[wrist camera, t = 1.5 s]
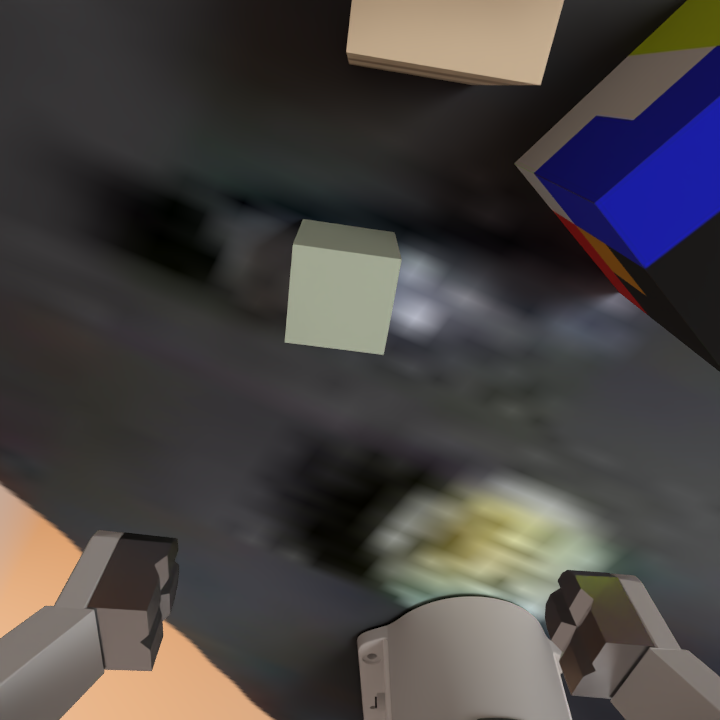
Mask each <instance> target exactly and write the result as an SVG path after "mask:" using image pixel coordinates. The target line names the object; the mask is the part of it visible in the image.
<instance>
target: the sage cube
mask: <svg viewBox="0 0 720 720" xmlns="http://www.w3.org/2000/svg"><path fill="white" fill-rule="evenodd" d="M401 260H402V259H401V255H400V251H399V248H398V244H397V240H396V236H395V232H388V231H382V230H375V229H368V228H361V227H354V226H347V225H340V224H333V223H326V222H319V221H312V220H305V219H303V220H302V223H301V225H300V228H299V230H298V233H297V235H296V238H295V240H294V243H293V249H292V261H291V273H290V285H289V297H288V309H287V321H286V333H285V342H286V343H294V344H302V345H310V346H318V347H326V348H334V349H342V350H350V351H358V352H366V353H374V354H381V355H384V350H385V345H386V339H387V334H388V329H389V324H390V318H391V313H392V308H393V302H394V297H395V292H396V287H397V281H398V276H399V271H400V265H401Z"/></svg>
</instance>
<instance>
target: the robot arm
mask: <svg viewBox="0 0 720 720" xmlns="http://www.w3.org/2000/svg"><path fill="white" fill-rule="evenodd" d="M177 552H178V539H176V538H169V537H160V536H151V535H142V534H132V533H123V532H112V531H101V530H98V531H97V532H96V533H95V534H94V535H93V536H92V537H91V539H90V541H89V542H88V544H87V546H86V548H85V550H84V552H83V553H82V555H81V557H80V559H79V561H78V563H77V564H76V566H75V568H74V570H73V572H72V574H71V575H70V577H69V579H68V581H67V583H66V585H65V586H64V588H63V590H62V592H61V594H60V596H59V597H58V599H57V601H56V603H55V605H54V606H44V607H43V608H42V609H40V610H39V611H38V612H36V613H35V614H33V615H32V616H31V617H29V618H28V619H27V620H25V621H24V622H22V623H21V624H20V625H18V626H17V627H16V628H14V629H13V630H11V631H10V632H9V633H7V634H6V635H4V636H3V637H2V638H0V720H59V719H60V718H61V717H62V716H63V715H64V714H65V713H66V712H67V711H68V710H69V709H70V708H71V707H72V706H73V705H74V704H75V702H77V701H78V700H79V699H80V697H81V696H82V695H83V694H84V693H85V692H86V691H87V690H88V689H89V688H90V687H91V686H92V685H93V684H94V683H95V682H96V681H97V680H98V679H99V678H100V677H101V676H102V675H103V674H104V669H106V670H137V671H152V669H153V665H154V662H155V659H156V656H157V653H158V650H159V647H160V644H161V641H162V638H163V624H162V621H163V620H164V619H165V618H166V617H167V616H169V615H170V613H171V610H172V606H173V603H174V600H175V595H176V590H177V586H178V577H179V565H178V564H177V563H176V562H175V558H176V555H177ZM558 583H559V585H560V589H558V590H557V591H555V592H553V593H552V594H550V597H549V599H548V601H547V603H546V610H545V620H546V626H547V630H548V633H549V636H550V639H551V640H549V639H548V638H547V636H546V635H545V633H544V631H543V629H542V627H541V625H540V623H539V622H538V620H537V619H536V618H535V617H534V616H533V615H532V614H530V613H529V612H528V611H526V610H525V609H523V608H521V607H519V606H517V605H515V604H513V603H510V602H507V601H503V600H499V599H495V598H488V597H474V596H469V597H455V598H448V599H443V600H438V601H435V602H431V603H428V604H425V605H423V606H420V607H418V608H416V609H414V610H412V611H410V612H408V613H407V614H405V615H404V616H402V617H401V618H399V619H398V620H396V621H395V622H393V623H391V624H389V625H387V626H383V627H379V628H376V629H373V630H370V631H367V632H364V633H362V634H361V635H360V636H359V637H358V639H357V647H358V659H359V670H360V682H361V694H362V706H363V717H364V720H572V718H571V714H570V710H569V706H568V703H567V699H566V695H565V692H564V688H563V684H562V680H561V677H560V674H561V673H562V672H563V674H564V677H565V680H566V683H567V685H568V688H569V691H570V693H571V695H574V696H586V697H597V698H608V699H611V702H612V704H613V705H614V706H615V707H616V708H617V710H618V711H619V712H620V713H621V714H622V716H623V717H624V718H625V719H626V720H720V677H719V676H718V675H717V674H716V673H714V672H713V671H712V670H711V669H710V668H708V667H707V666H706V665H705V664H704V663H703V662H701V661H700V660H699V659H698V658H697V657H695V656H694V655H693V654H692V653H691V652H689V651H688V650H682V649H681V648H680V647H679V645H678V643H677V642H676V640H675V638H674V637H673V635H672V633H671V631H670V630H669V628H668V626H667V625H666V623H665V621H664V619H663V618H662V616H661V614H660V613H659V611H658V609H657V608H656V606H655V604H654V602H653V601H652V599H651V597H650V596H649V594H648V592H647V591H646V589H645V587H644V585H643V584H642V582H641V581H640V580H639V579H638V578H637V577H636V576H633V575H621V574H610V573H602V572H588V571H573V570H567V571H565V572H563V573H562V574H561V576H560V578H559V579H558Z"/></svg>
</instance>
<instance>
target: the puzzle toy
mask: <svg viewBox="0 0 720 720" xmlns="http://www.w3.org/2000/svg"><path fill="white" fill-rule="evenodd" d="M514 164H515V165H516V167H517V168H518V169H519V170H520V171H521V173H522V174H523V175H524V176H525V178H526V179H527V180H528V181H529V183H530V184H531V185H532V186H533V187H534V189H535V190H536V191H537V192H538V194H539V195H540V196H541V197H542V198H543V200H544V201H545V202H546V203H547V205H548V206H549V207H550V208H551V209H552V211H553V212H554V213H555V214H556V216H557V217H558V218H559V219H560V220H561V222H562V223H563V224H564V225H565V227H566V228H567V229H568V230H569V232H570V233H571V234H572V235H573V236H574V238H575V239H576V240H577V241H578V243H579V244H580V245H581V246H582V247H583V249H584V250H585V251H586V252H587V254H588V255H589V256H590V257H591V258H592V260H593V261H594V262H595V263H596V265H597V266H598V267H599V268H600V269H601V271H602V272H603V273H604V274H605V276H606V277H607V278H608V279H609V281H610V282H611V283H612V284H613V285H614V287H615V288H616V289H617V290H618V292H619V293H621V294H622V295H623V296H624V297H626V298H627V299H628V300H629V301H631V302H632V303H633V304H635V305H636V306H637V307H638V308H640V309H641V310H642V311H643V312H645V313H646V314H647V315H649V316H650V317H651V318H652V319H654V320H655V321H656V322H657V323H659V324H660V325H661V326H662V327H664V328H665V329H666V330H668V331H669V332H670V333H671V334H673V335H674V336H675V337H676V338H678V339H679V340H680V341H682V342H683V343H684V344H685V345H687V346H688V347H689V348H690V349H692V350H693V351H694V352H695V353H697V354H698V355H699V356H701V357H702V358H703V359H704V360H706V361H707V362H708V363H709V364H711V365H712V366H713V367H715V368H716V369H717V370H718V371H720V0H687V1H686V2H685V3H684V4H683V5H682V6H681V7H680V8H679V9H677V10H676V11H675V12H674V13H673V14H672V15H671V16H670V17H669V18H668V19H667V20H666V21H665V22H664V23H663V24H662V25H661V26H659V27H658V28H657V29H656V30H655V31H654V32H653V33H652V34H651V35H650V36H649V37H648V38H647V39H646V40H645V41H644V42H643V43H641V44H640V45H639V46H638V47H637V48H636V49H635V50H634V51H633V52H632V53H631V54H630V55H629V56H628V57H627V58H626V59H624V60H623V61H622V62H621V63H620V64H619V65H618V66H617V67H616V68H615V69H614V70H613V71H612V72H611V73H610V74H609V75H608V76H606V77H605V78H604V79H603V80H602V81H601V82H600V83H599V84H598V85H597V86H596V87H595V88H594V89H593V90H592V91H591V92H589V93H588V94H587V95H586V96H585V97H584V98H583V99H582V100H581V101H580V102H579V103H578V104H577V105H576V106H575V107H574V108H573V109H571V110H570V111H569V112H568V113H567V114H566V115H565V116H564V117H563V118H562V119H561V120H560V121H559V122H558V123H557V124H556V125H555V126H553V127H552V128H551V129H550V130H549V131H548V132H547V133H546V134H545V135H544V136H543V137H542V138H541V139H540V140H539V141H538V142H536V143H535V144H534V145H533V146H532V147H531V148H530V149H529V150H528V151H527V152H526V153H525V154H524V155H523V156H522V157H521V158H520V159H518V160H517V161H516V162H515V163H514Z"/></svg>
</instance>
